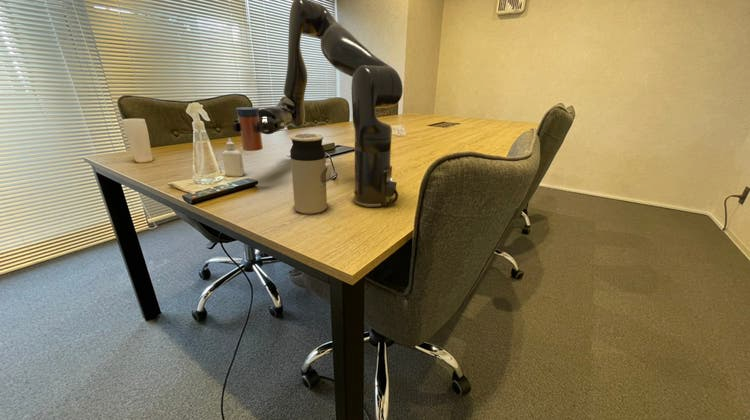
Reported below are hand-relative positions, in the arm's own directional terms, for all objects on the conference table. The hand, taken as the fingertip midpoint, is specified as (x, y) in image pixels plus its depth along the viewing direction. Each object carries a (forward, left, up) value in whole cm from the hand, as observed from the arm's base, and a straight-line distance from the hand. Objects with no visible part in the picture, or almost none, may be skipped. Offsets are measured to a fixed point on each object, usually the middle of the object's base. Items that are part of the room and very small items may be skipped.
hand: (245, 128), depth 80 cm
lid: (0, -2, +5) cm, 5 cm away
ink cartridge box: (-13, -14, -18) cm, 26 cm away
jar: (0, -3, -6) cm, 7 cm away
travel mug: (-21, +6, -18) cm, 28 cm away
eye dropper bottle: (+15, -11, -18) cm, 25 cm away
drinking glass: (+57, -14, -18) cm, 61 cm away
